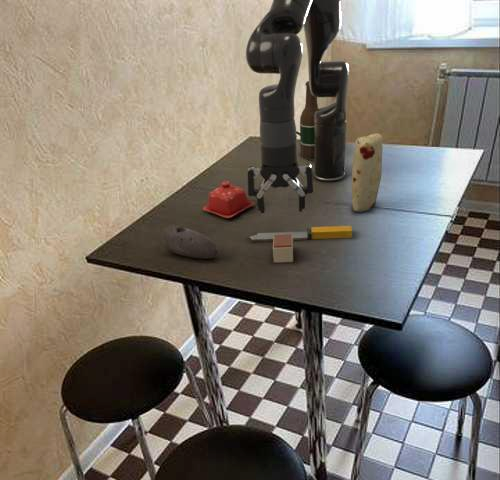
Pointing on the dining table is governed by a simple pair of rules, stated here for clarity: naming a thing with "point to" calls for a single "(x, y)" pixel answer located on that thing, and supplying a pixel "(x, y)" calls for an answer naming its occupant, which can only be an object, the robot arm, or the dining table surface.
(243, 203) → the butter dish
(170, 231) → the perforated stone tool
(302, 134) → the beer bottle
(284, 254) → the salt cellar
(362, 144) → the food model
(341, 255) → the dining table surface
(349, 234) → the knife
